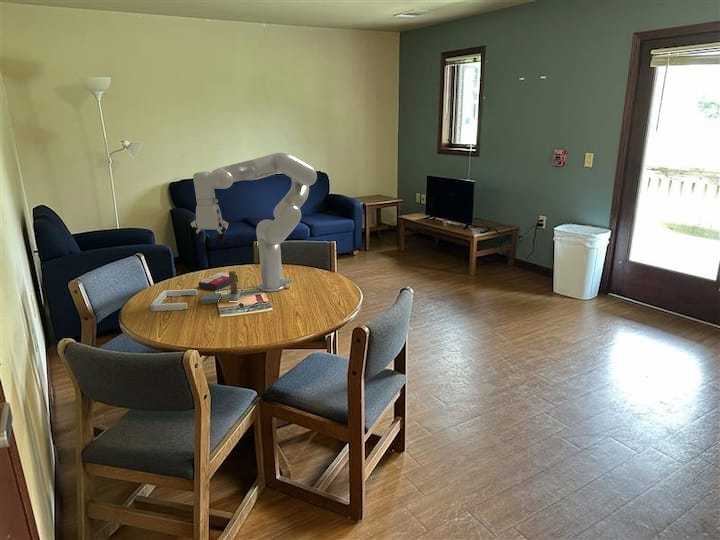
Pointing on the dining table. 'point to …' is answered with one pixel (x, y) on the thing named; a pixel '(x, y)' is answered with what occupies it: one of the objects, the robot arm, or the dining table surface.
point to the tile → (210, 298)
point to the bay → (171, 306)
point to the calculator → (216, 281)
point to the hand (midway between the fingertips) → (212, 242)
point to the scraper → (233, 287)
